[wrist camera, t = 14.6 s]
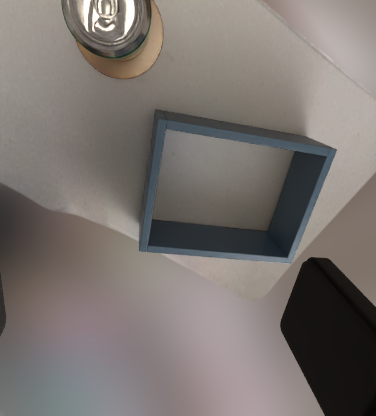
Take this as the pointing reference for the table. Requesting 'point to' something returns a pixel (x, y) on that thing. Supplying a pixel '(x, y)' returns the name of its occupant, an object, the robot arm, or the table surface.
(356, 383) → the robot arm
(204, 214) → the table surface
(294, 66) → the table surface
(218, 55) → the table surface
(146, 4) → the soda can
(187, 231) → the frame
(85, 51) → the coaster
